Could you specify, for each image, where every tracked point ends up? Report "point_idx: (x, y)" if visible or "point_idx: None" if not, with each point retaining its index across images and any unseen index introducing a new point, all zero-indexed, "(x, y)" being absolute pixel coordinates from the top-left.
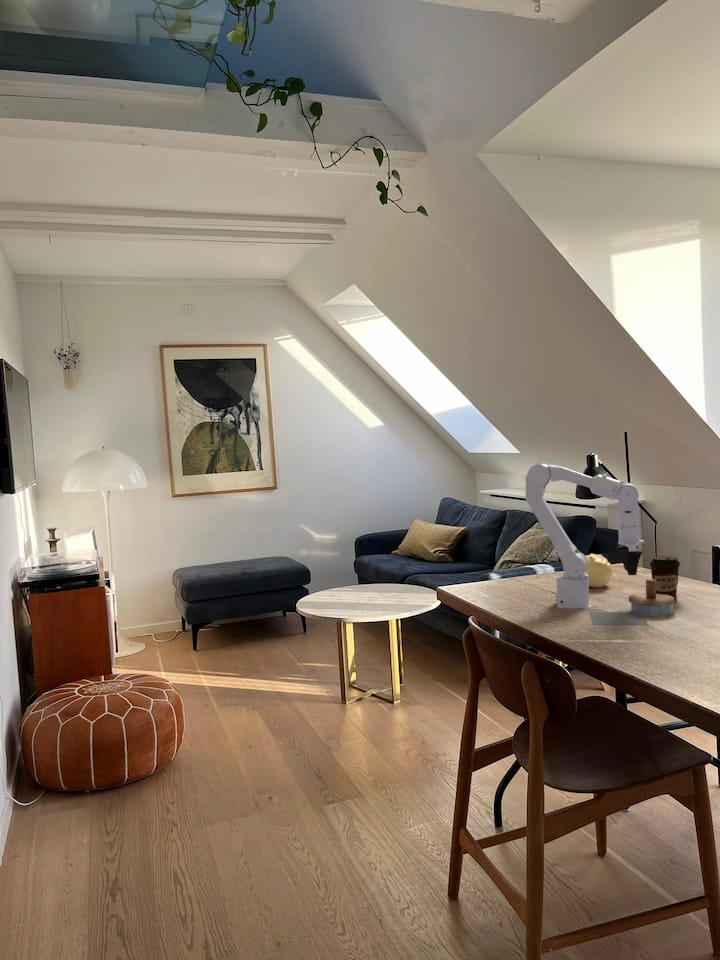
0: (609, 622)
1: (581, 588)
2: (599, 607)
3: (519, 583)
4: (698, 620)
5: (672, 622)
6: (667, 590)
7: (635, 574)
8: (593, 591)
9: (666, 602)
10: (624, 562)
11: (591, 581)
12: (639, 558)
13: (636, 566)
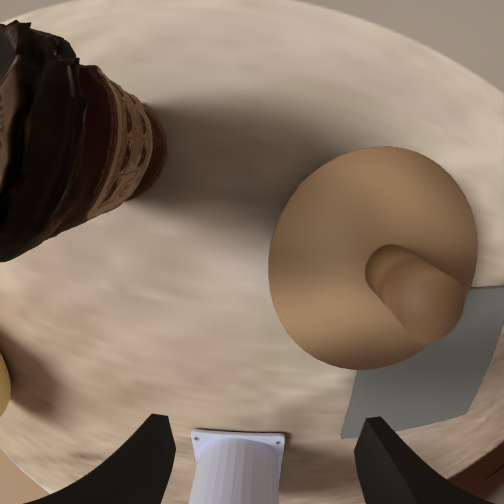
0: (465, 385)
1: (275, 501)
2: (253, 411)
3: (36, 467)
4: (462, 103)
5: (485, 201)
6: (150, 138)
7: (384, 421)
8: (36, 375)
9: (469, 211)
10: (162, 492)
11: (4, 383)
12: (472, 495)
13: (414, 461)
